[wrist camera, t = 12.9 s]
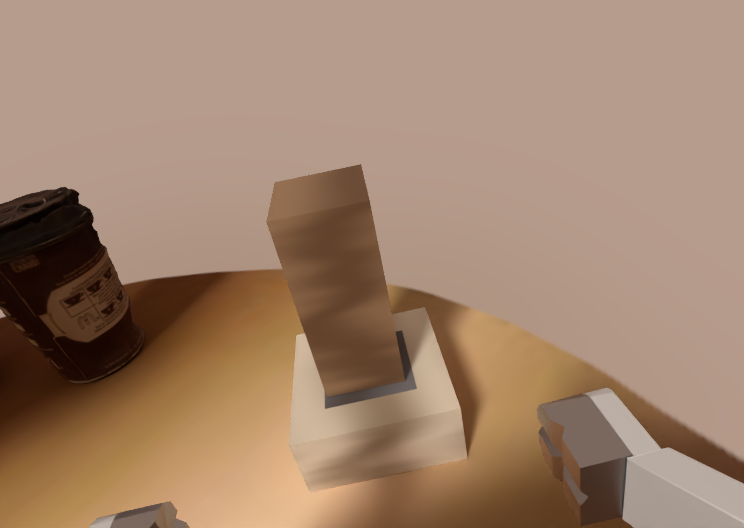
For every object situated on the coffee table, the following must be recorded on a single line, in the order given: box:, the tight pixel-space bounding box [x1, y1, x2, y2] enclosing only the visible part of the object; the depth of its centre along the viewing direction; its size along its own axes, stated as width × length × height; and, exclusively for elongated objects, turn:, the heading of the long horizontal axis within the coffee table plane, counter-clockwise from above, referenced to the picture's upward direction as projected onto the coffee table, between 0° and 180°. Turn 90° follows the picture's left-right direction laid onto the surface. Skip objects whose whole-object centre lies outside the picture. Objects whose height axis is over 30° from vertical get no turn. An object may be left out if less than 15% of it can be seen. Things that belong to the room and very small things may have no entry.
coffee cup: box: [0, 187, 144, 383], centre depth 33 cm, size 9×8×13 cm
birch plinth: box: [289, 307, 468, 493], centre depth 25 cm, size 8×8×4 cm
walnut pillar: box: [267, 165, 405, 397], centre depth 22 cm, size 4×4×10 cm
